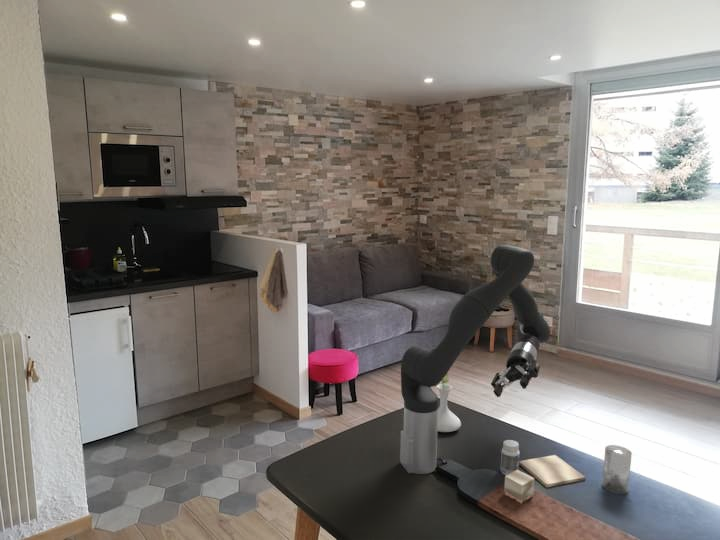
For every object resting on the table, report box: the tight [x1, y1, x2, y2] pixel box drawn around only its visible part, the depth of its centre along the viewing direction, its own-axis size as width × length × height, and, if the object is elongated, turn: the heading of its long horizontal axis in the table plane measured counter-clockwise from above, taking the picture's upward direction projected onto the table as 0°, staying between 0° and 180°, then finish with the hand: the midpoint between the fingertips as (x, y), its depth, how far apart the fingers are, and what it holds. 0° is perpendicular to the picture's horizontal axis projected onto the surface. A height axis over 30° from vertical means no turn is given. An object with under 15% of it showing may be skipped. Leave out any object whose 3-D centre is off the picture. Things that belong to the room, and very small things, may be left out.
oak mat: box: [519, 454, 586, 488], centre depth 138 cm, size 12×12×1 cm
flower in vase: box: [434, 373, 462, 433], centre depth 161 cm, size 13×11×25 cm
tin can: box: [601, 444, 632, 495], centre depth 130 cm, size 6×6×10 cm
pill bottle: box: [500, 439, 521, 476], centre depth 137 cm, size 5×5×8 cm
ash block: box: [503, 469, 536, 501], centre depth 127 cm, size 5×5×5 cm
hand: (509, 390), depth 143 cm, fingers open, 8 cm apart
